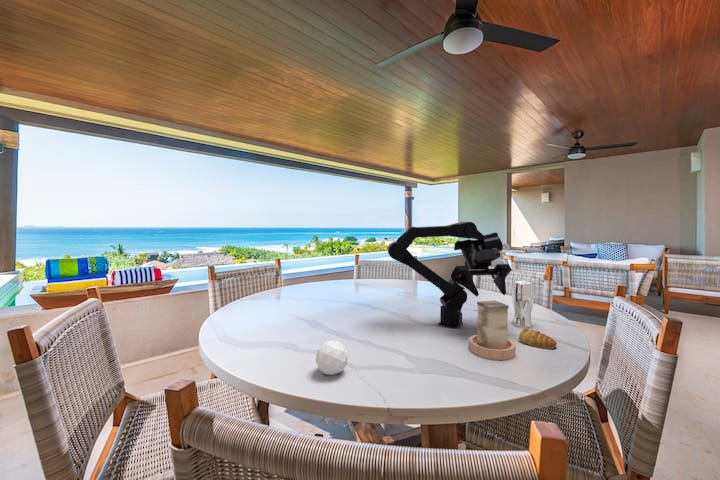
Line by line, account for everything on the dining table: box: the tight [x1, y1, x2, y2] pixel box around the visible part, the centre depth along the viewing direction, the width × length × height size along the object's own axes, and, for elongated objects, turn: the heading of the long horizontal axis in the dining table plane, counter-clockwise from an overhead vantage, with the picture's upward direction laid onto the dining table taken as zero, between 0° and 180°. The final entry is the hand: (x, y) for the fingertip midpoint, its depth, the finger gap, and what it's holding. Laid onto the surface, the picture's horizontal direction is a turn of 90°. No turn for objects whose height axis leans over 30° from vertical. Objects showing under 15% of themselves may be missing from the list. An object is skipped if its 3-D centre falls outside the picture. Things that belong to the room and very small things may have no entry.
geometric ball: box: [315, 339, 349, 376], centre depth 74 cm, size 8×8×8 cm
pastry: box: [518, 327, 558, 350], centre depth 90 cm, size 9×7×4 cm
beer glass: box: [511, 280, 535, 329], centre depth 106 cm, size 7×7×15 cm
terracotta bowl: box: [468, 334, 517, 361], centre depth 85 cm, size 12×12×2 cm
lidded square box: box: [476, 300, 510, 350], centre depth 85 cm, size 6×6×12 cm
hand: (491, 295), depth 94 cm, fingers open, 9 cm apart
